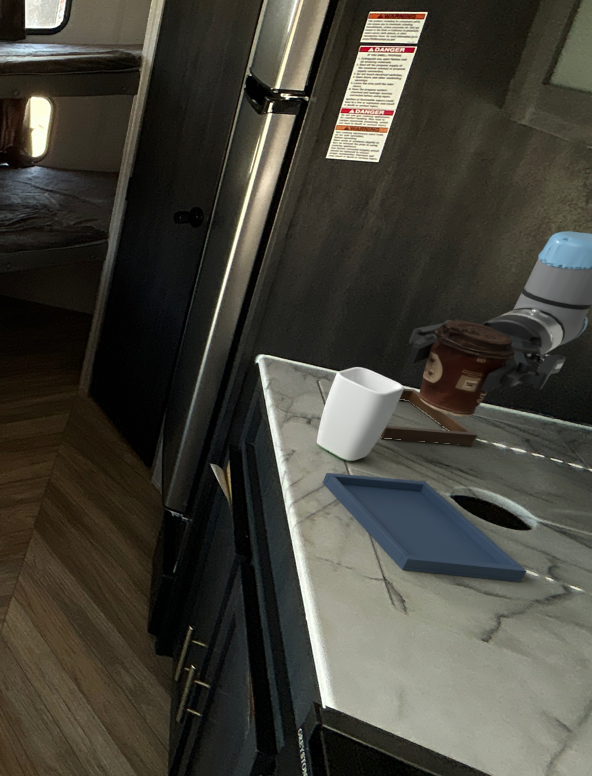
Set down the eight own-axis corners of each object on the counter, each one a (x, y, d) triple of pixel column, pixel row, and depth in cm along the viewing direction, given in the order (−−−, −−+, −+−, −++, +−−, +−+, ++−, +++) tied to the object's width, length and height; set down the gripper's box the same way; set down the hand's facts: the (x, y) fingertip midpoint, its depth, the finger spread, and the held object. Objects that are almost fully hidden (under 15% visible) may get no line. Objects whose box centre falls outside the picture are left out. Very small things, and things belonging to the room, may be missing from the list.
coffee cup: (402, 403, 98) (433, 329, 93) (409, 383, 103) (439, 312, 98) (482, 428, 92) (520, 350, 87) (485, 406, 97) (521, 331, 92)
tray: (520, 582, 86) (527, 571, 85) (402, 570, 88) (407, 558, 87) (420, 491, 102) (425, 481, 101) (322, 482, 104) (326, 472, 103)
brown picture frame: (471, 446, 113) (477, 435, 112) (381, 439, 115) (386, 428, 114) (409, 399, 126) (414, 389, 125) (329, 393, 128) (333, 383, 127)
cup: (331, 434, 116) (359, 365, 110) (377, 459, 109) (409, 387, 104) (304, 443, 113) (332, 372, 108) (349, 468, 107) (381, 395, 101)
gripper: (443, 291, 109) (374, 317, 99) (627, 344, 91) (563, 382, 82) (426, 329, 111) (357, 358, 102) (601, 388, 94) (537, 429, 85)
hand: (449, 368), depth 92 cm, fingers closed on coffee cup, 8 cm apart
